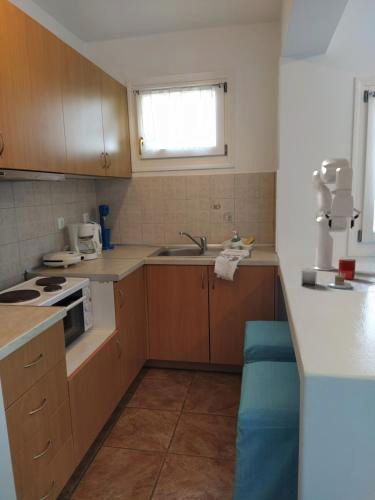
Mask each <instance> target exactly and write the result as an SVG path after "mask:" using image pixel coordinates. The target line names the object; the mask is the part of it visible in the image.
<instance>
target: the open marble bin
mask: <svg viewBox="0 0 375 500" xmlns="http://www.w3.org/2000/svg"><path fill="white" fill-rule="evenodd" d="M317 272H318V270H317V269H313V268H306V267H302V268H301V277H300V278H301V279H300V287H302V286H303V284H310V285H311V284H312V285H314V288H317V280H318V279H317V276H318V273H317Z"/></svg>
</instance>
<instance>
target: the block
mask: <svg viewBox="0 0 375 500" xmlns="http://www.w3.org/2000/svg"><path fill="white" fill-rule="evenodd" d="M334 281H335V285H344V282H345V280H344V276H343V275H338V274H335V275H334Z"/></svg>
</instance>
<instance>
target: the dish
mask: <svg viewBox="0 0 375 500" xmlns="http://www.w3.org/2000/svg"><path fill="white" fill-rule="evenodd" d="M326 285H327V287H328V288H331V289H336V290H348V289H352V283H350V282H347V281H344V285H335V280H331V281H327V282H326Z"/></svg>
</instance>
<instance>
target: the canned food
mask: <svg viewBox="0 0 375 500" xmlns="http://www.w3.org/2000/svg"><path fill="white" fill-rule="evenodd" d="M356 261H357V260H356V258H354V257H351V256H350V257H349V256H340V257H339V258H338V271H337V272H338V273H337V275H343V276H344V281H352V280H355V274H356Z"/></svg>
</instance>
